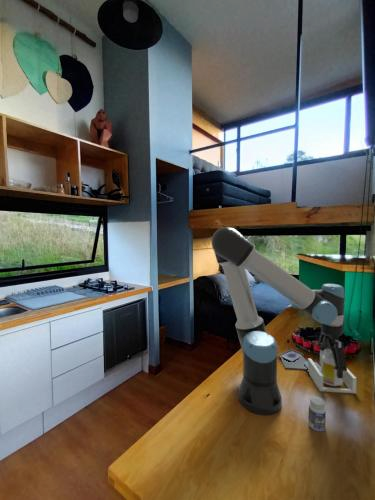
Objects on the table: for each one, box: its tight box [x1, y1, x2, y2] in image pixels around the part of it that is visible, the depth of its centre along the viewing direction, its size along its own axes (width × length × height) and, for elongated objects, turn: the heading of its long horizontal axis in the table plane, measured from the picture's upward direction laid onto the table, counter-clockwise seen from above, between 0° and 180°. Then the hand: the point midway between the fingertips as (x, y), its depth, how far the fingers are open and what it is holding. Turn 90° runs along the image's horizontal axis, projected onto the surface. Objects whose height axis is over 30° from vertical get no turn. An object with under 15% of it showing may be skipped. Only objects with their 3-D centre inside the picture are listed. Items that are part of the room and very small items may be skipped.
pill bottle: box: [307, 396, 327, 432], centre depth 76 cm, size 5×5×8 cm
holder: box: [307, 358, 357, 394], centre depth 98 cm, size 13×13×6 cm
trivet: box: [278, 354, 308, 371], centre depth 112 cm, size 11×11×1 cm
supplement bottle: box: [320, 348, 339, 387], centre depth 98 cm, size 7×7×13 cm
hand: (330, 374), depth 98 cm, fingers open, 13 cm apart
